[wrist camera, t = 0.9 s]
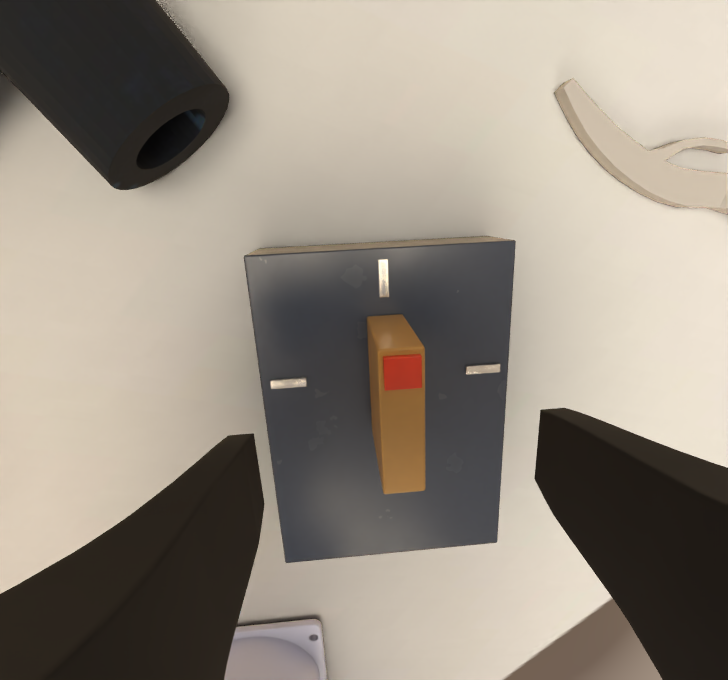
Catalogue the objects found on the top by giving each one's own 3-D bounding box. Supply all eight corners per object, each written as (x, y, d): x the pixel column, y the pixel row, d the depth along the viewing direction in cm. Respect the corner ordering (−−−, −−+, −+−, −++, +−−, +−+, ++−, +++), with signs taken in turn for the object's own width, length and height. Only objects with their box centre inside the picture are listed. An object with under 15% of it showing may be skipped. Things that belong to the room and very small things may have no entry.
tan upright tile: (405, 429, 17) (427, 496, 13) (372, 432, 17) (384, 500, 13) (402, 313, 16) (427, 349, 12) (366, 316, 16) (378, 352, 12)
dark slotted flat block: (476, 500, 22) (498, 545, 19) (291, 517, 22) (284, 566, 19) (487, 235, 18) (518, 240, 15) (258, 248, 17) (242, 256, 14)
